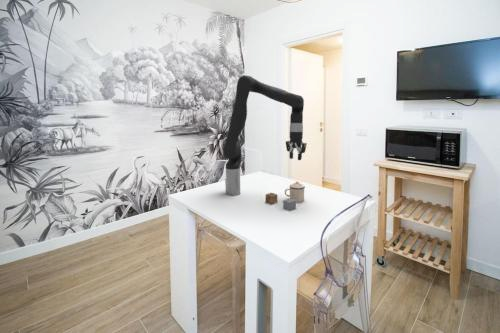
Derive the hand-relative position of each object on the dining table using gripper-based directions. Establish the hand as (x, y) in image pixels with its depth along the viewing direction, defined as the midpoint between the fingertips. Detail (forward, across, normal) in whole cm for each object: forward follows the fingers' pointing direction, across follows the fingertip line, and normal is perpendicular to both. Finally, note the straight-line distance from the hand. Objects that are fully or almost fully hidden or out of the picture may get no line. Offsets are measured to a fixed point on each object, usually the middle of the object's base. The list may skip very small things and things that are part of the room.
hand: (295, 159), depth 161 cm
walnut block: (+26, -7, -13) cm, 30 cm away
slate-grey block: (+26, +7, -13) cm, 30 cm away
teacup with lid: (+26, 0, 0) cm, 26 cm away
